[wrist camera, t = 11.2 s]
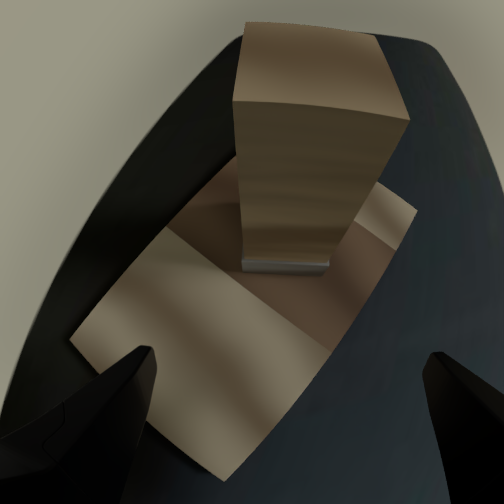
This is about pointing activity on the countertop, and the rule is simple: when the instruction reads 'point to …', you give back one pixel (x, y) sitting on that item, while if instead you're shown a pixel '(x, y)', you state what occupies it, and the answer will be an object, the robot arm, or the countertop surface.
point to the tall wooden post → (308, 140)
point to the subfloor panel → (234, 320)
